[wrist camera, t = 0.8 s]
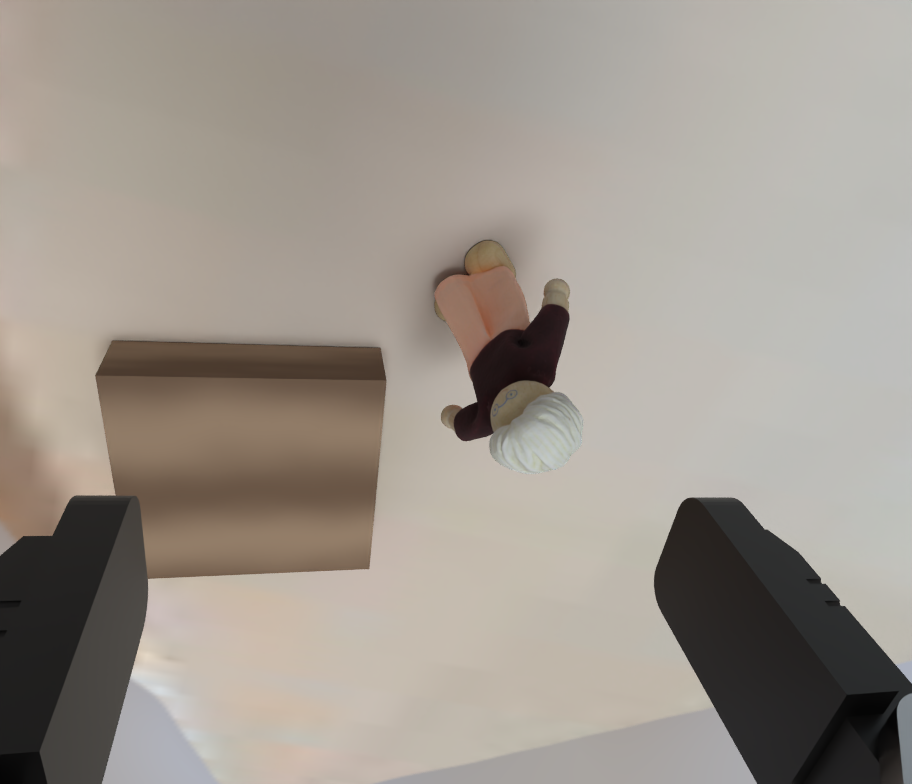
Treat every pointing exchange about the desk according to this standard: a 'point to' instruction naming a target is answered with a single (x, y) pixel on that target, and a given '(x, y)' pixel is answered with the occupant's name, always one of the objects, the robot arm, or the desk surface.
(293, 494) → the walnut plinth
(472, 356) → the grandmother figurine
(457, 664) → the desk surface
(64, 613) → the robot arm
